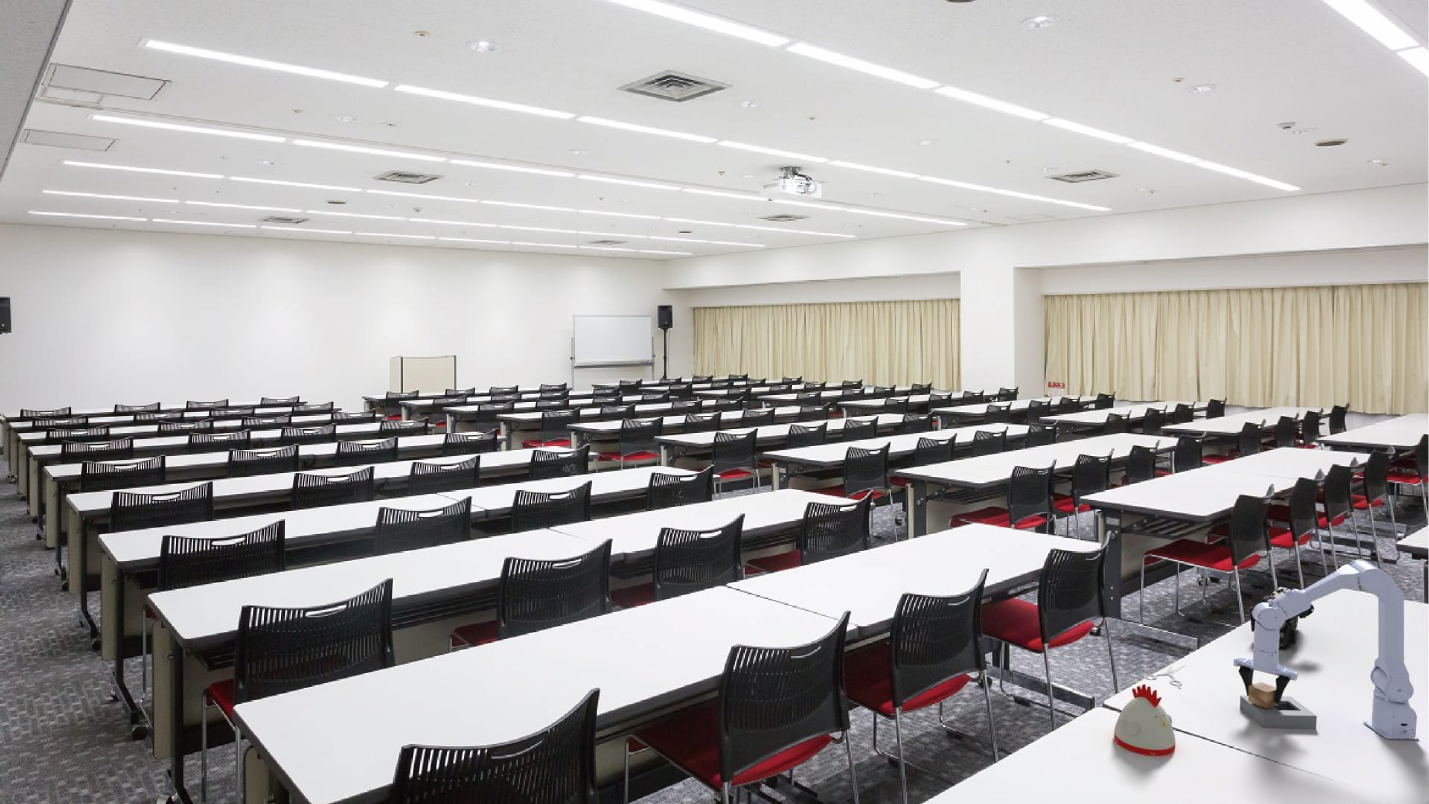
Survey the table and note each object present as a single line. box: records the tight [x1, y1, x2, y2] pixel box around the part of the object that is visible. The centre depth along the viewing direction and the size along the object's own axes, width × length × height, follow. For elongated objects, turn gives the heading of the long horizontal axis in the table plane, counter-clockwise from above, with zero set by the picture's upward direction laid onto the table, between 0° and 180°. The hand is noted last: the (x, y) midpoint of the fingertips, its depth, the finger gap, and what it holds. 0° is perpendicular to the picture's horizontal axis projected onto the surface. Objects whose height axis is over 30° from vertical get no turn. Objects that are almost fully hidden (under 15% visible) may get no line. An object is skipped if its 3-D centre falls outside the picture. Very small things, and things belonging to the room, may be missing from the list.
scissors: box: [1143, 663, 1185, 690], centre depth 271 cm, size 11×1×20 cm
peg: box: [1248, 681, 1279, 708], centre depth 241 cm, size 5×5×8 cm
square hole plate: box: [1239, 695, 1318, 730], centre depth 241 cm, size 12×13×3 cm
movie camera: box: [1249, 586, 1315, 651], centre depth 298 cm, size 31×18×18 cm, turn 137°
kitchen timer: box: [1113, 684, 1176, 757], centre depth 227 cm, size 14×14×15 cm
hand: (1263, 698), depth 240 cm, fingers closed on peg, 6 cm apart
